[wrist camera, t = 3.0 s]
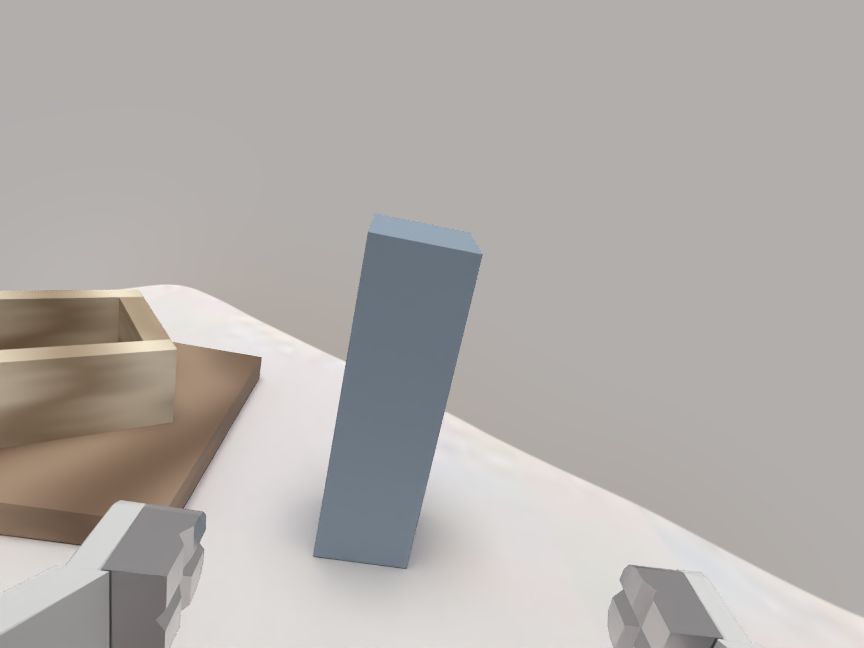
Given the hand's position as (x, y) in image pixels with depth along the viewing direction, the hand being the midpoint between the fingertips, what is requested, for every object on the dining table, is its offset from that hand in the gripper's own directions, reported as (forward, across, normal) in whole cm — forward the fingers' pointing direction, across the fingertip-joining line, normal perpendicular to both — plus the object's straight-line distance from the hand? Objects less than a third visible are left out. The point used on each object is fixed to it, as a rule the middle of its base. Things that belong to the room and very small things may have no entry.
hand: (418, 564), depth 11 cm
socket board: (+17, +16, +10) cm, 26 cm away
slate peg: (+12, 0, +10) cm, 16 cm away
